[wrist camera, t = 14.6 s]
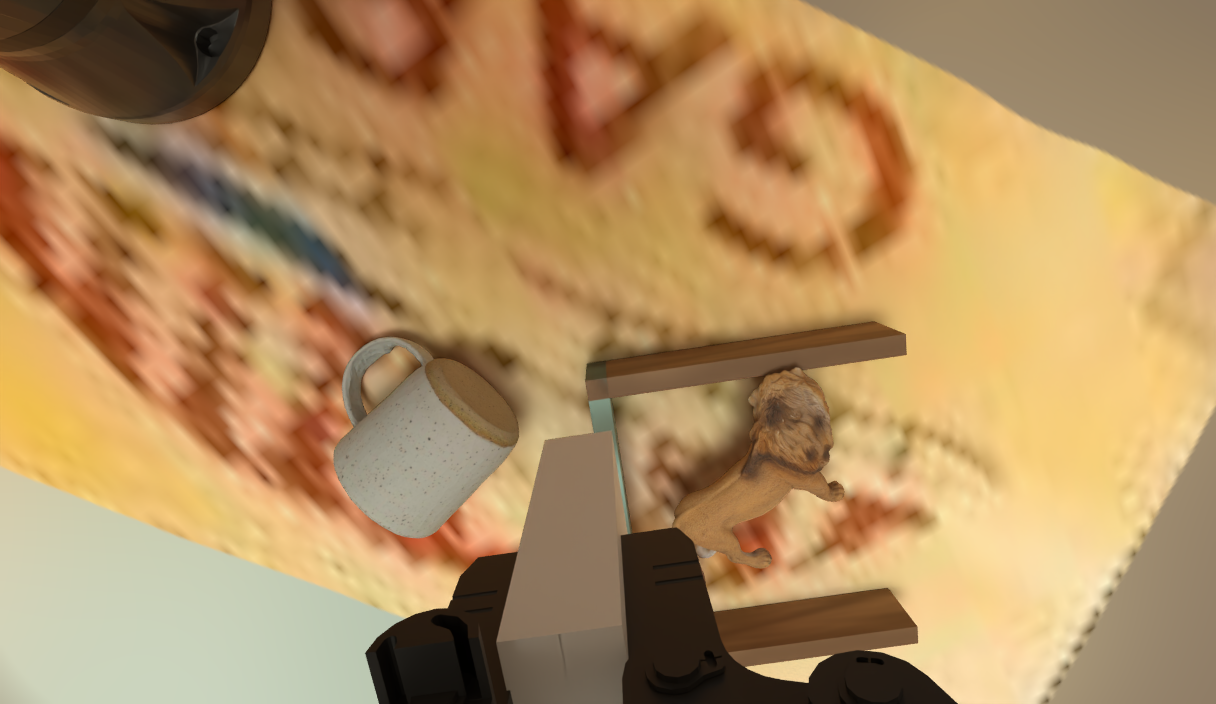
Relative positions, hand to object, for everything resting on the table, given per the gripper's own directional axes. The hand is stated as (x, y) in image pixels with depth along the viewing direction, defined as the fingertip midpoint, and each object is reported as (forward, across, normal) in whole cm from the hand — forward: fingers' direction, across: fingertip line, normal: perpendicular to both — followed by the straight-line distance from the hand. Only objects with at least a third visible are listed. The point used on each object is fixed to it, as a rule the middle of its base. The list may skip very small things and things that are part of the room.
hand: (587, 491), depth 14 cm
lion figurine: (+23, +10, -14) cm, 29 cm away
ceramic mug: (+25, -11, -4) cm, 28 cm away
